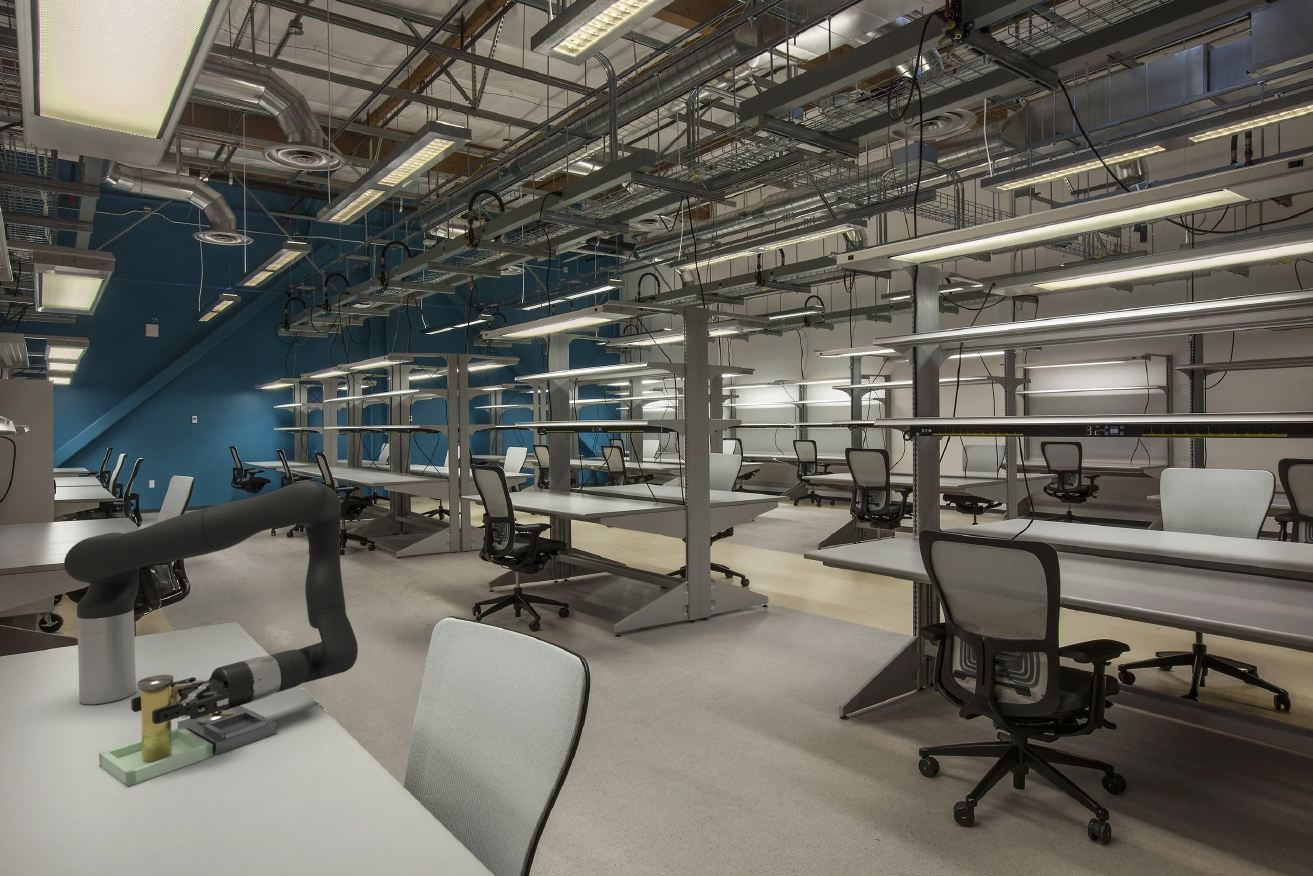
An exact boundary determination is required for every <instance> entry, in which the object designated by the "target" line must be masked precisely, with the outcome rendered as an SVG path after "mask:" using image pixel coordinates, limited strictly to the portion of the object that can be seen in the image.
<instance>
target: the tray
mask: <svg viewBox="0 0 1313 876" xmlns="http://www.w3.org/2000/svg"><path fill="white" fill-rule="evenodd" d="M171 739H172V754H171V756H170V757H167V758H164V759H161V760H158V761H155V762H150V763H147V762H143V761H142V739H139V740H136V741H133V742H130V743H127V744H124V745H121V746H118V747H115V748H111V749H107V750H105V751H101V752H99V753H98V754H99V755H98V756H99V758H98V759H99V760H98V761H99V766H100V767H101V768H103V769H104V770H105V771H106V772H108V773H110V774H111V775H112V776H114V777H115V778H116V779H117V780H119V781H120V782H122V783H123V784H124V785H125V786H127V787H130V786H134V785H136V784H140V783H141V782H146V781H147V780H150V779H154V778H156V777H158V776H161V775H164V774H166V773H167V774H168V773H169V772H172V771H175V770H176V771H177V770H178V769H180V768H184V767H186V766H189V765H193V764H195V763H197V762H200V761H201V762H202V761H204V760H206V759H210V758H212V757H214V754H213V744H211V743H209V742H208V741H206V740H204V739H202V738H200V737H199V736H197V735H195V734H193V733H191V732H190V731H188V730H186V729H184V728H183V727H180V728H178V727H177V728H174V729H171Z"/></svg>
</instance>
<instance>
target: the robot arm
mask: <svg viewBox="0 0 1313 876" xmlns="http://www.w3.org/2000/svg"><path fill="white" fill-rule="evenodd" d="M341 503H342V502H341V499H340V497H339V494H338V493H337V492H336V491H335V490H334V489H333V488H332V487H329V486H327V485H325V484H323V483H321V482H319V481H316V480H315V481H314V480H302V481H298V482H295V483H292V484H291V483H290V484H289V485H287V486H283V487H280V488H278V489H276V490H272V491H270V492H267V493H264V494H261V495H258V496H254V497H250V498H245V499H240V500H235V501H230V502H227V503H226V502H225V503H222V504H219V505H218V504H217V505H213V506H209V507H205V508H200V509H196V510H192V511H189V512H186V513H183V514H180V515H176V516H173V517H170V518H168V519H164V520H161V521H159V522H156V523H154V524H152V525H147V526H146V527H143V528H141V529H137V530H134V531H130V532H125V533H124V532H123V533H121V532H108V533H103V534H100V535H99V534H98V535H95V536H92V537H87V538H84V539H82V540H80V541H78V542H77V543H76V544H74V545H73V546H72V547H71V548H70V549H69V550H68V551H67V553H66V554H65V557H64V560H63V566H64V570H65V571H66V573H67V574H68V576H69V577H70V578H72V579H74V580H76V581H77V582H81V583H87V584H89V586H88V589H87V590H86V593H85V595H83V596H82V598H81V599H80V600H79V601H78V603H77V605H76V623H77V624H76V625H77V651H78V652H77V658H78V659H77V661H78V698H79V699H78V700H79V703H80V704H83V705H101V704H106V703H111V702H116V701H120V700H123V699H126V698H128V697H130V696H132V695H134V694H135V693H136V692H137V686H136V684H137V683H136V682H137V681H136V679H137V677H136V674H137V673H136V670H137V669H136V642H135V612H134V610H135V600H136V598H137V595H138V592H139V577H140V576H139V575H140V573H139V572H140V571H139V569H140V568H142V567H147V566H152V565H155V564H162V563H169V562H175V561H179V560H180V561H181V560H185V559H191V558H194V557H200V556H204V555H207V554H212V553H217V552H220V551H224V550H227V549H230V548H233V547H234V546H237V545H239V544H241V543H243V542H244V541H246V540H248V539H249V538H251V537H253V536H254V535H256V534H259V533H261V532H264V531H268V530H271V529H272V530H273V529H276V528H281V527H287V526H294V525H295V526H296V525H301V526H303V527H304V529H305V533H306V537H307V541H308V550H309V553H308V554H309V555H308V565H307V569H306V570H307V571H306V577H305V587H304V590H305V602H306V611H307V618H308V619H307V620H308V623H309V625H310V627H311V628H313V629H317V630H318V632H319V636H320V640H321V641H320V642H317V643H314V644H311V645H307V646H304V647H302V648H298V649H290V650H285V651H281V652H275V653H272V654H269V655H265V656H257V657H252V658H249V659H245V660H241V661H238V662H233V663H230V664H225V665H223V666H219V667H217V668H215V669H214V670H213V671H212V673H211V676H210V677H209V679H208V680H202V679H201V680H197V678H196V677H189V678H188V677H187V678H185V679H181V680H178V681H173V683H172V684H171V705H169V706H165V707H162V708H159V709H155V710H153V711H152V722H153V723H154V724H159V723H163V722H166V721H169V720H171V721H172V720H175V719H178V718H180V719H188V718H190V719H196V718H199V717H202V716H205V715H208V714H211V713H214V712H217V711H220V710H228V709H231V708H234V707H237V706H244V705H247V704H250V703H253V702H256V701H258V700H260V701H261V700H262V699H266V698H268V697H269V696H272V695H274V694H277V693H280V692H283V691H287V690H289V689H293V688H296V687H298V686H300V685H302V684H304V683H309V682H312V681H316V680H321V679H323V678H328V677H332V676H335V675H338V674H341V673H345V672H348V671H349V670H351V669H352V667H354V665H355V664H356V662H357V659H358V654H359V648H358V641H357V638H356V634H355V632H354V630H353V627H352V625H351V621H350V619H349V617H348V615H347V611H346V610H347V609H346V608H347V607H346V602H345V601H346V600H345V593H344V586H343V579H342V570H341V569H342V567H341V550H340V549H341V546H340V545H341V544H340V543H341V541H340V540H341V539H340V536H341V534H340V533H341V520H342V518H341V515H342V504H341ZM130 703H131V704H130V709H131V711H132V712H134V713H137V712H140V711H141V695H139V696H135V697H133V698H131V701H130Z"/></svg>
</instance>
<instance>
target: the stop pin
mask: <svg viewBox="0 0 1313 876" xmlns="http://www.w3.org/2000/svg"><path fill="white" fill-rule="evenodd" d="M173 682H174V676H173V675H171V674H158V675H151V676H148V677H145V678H143V679H139V681H137V689H138V690H139V691H140V696H141V715H140V717H141V719H140V720H141V740H142V761H143V762H147V763H150V762H155V761H158V760H161V759H164V758H167V757H170V756H171V754H172V739H171V730H172V720H169V721H166V722H163V723H159V724H154V723H153V722H152V711H153V710H155V709H159V708H162V707H165V706H169V705H172V704H171V694H172V693H171V688H172V687H171V684H172V683H173Z"/></svg>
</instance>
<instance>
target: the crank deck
mask: <svg viewBox="0 0 1313 876" xmlns="http://www.w3.org/2000/svg"><path fill="white" fill-rule="evenodd" d="M180 727H183V728H184V729H186V730H188V731H190V732H191V733H193V734H195V735H197V736H199V737H200V738H202V739H204V740H206V741H208V742H209V743H211V744H213V755H216V756H217V755H220V754H223V753H225V752H229V751H232V750H234V749H237V748H240V747H243V746H245V745H247V744H248V745H249V744H251V743H254V742H256V741H259V740H262V739H265V738H268V737H271V736H273V735H277V722H276V721H274V720H272V719H270V718H268V717H265V716H264V715H261V714H259V713H258V712H255V711H252V710H250V709H249V708H246V707H245V706H243V705H241V706H237V707H234V708H231V709H228V710H220V711H217V712H214V713H211V714H208V715H205V716H202V717H199V718H196V719H190V717H188V718H185V719H183V720H179V721H177V728H180Z"/></svg>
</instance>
